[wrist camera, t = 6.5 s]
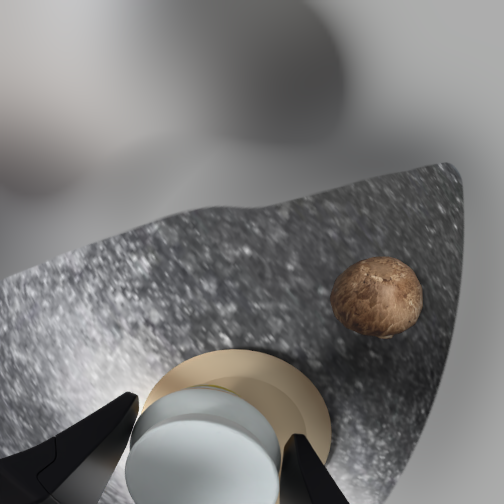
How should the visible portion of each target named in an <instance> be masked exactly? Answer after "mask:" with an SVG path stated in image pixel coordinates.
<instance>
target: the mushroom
mask: <svg viewBox="0 0 504 504" xmlns="http://www.w3.org/2000/svg"><path fill="white" fill-rule="evenodd" d="M330 301H331V305H332V308H333V312H334V315H335V317H336V318H337V319H338V320H339V321H340V322H341V323H342V324H343V325H344V326H345V327H346V328H348V329H350V330H353V331H355V332H358V333H360V334H362V335H368V336H376V337H378V338H382V339H389V338H392V337H393V335H394V334H399V333H402V332H403V331H405V330H407V329H408V328H410V327H411V326H413V325H415V323H416V321H417V319H418V317H419V315H420V313H421V310H422V308H423V296H422V287H421V285H420V282H419V281H418V279H417V277H416V275H415V273H414V271H413V270H412V269H411V268H410V267H408V266H407V265H406V264H404V263H403V262H401V261H400V260H398V259H395V258H391V257H372V258H369V259H365V260H361V261H359V262H357V263H355V264H353V265H352V266H350V267H349V268H347V269H346V270H345V271H344V272H343V273H342V274H341V275H339V276H338V277H337V279H336V280H335V283H334V286H333V289H332V292H331V296H330Z"/></svg>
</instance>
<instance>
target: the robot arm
mask: <svg viewBox="0 0 504 504" xmlns="http://www.w3.org/2000/svg"><path fill="white" fill-rule="evenodd" d="M138 412H139V398H138V396H137V395H136V394H133V393H131V392H125V393H124V394H122V395H121V396H119V397H118V398H116V399H114V400H113V401H111V402H110V403H108V404H107V405H105V406H103V407H102V408H100V409H99V410H97V411H95V412H94V413H92V414H91V415H89V416H87V417H86V418H84V419H82V420H81V421H79V422H77V423H76V424H74V425H72V426H71V427H69V428H67V429H66V430H64V431H62V432H61V433H59V434H57V435H56V436H54V437H52V438H50V439H48V440H47V441H45V442H43V443H41V444H39V445H37V446H35V447H32V448H30V449H27V450H25V451H22V452H19V453H17V454H14V455H11V456H8V457H5V458H2V459H0V504H97V503H98V501H99V499H100V497H101V495H102V493H103V491H104V489H105V487H106V485H107V483H108V481H109V479H110V477H111V475H112V473H113V471H114V470H115V468H116V466H117V464H118V462H119V460H120V458H121V456H122V454H123V452H124V450H125V448H126V446H127V443H128V440H129V437H130V435H131V432H132V429H133V426H134V423H135V421H136V418H137V415H138ZM279 502H280V504H349V502H348V501H347V499H346V498H345V496H344V495H343V493H342V492H341V490H340V489H339V487H338V486H337V484H336V483H335V481H334V480H333V478H332V477H331V475H330V474H329V472H328V471H327V469H326V468H325V466H324V465H323V463H322V461H321V460H320V458H319V457H318V455H317V454H316V452H315V450H314V449H313V447H312V446H311V444H310V442H309V441H308V439H307V438H306V436H305V435H304V434H297V433H294V434H292V435H291V437H290V438H289V440H288V441H287V442H286V444H285V446H284V451H283V459H282V467H281V475H280V485H279Z"/></svg>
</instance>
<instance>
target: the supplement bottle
mask: <svg viewBox="0 0 504 504" xmlns="http://www.w3.org/2000/svg"><path fill="white" fill-rule="evenodd" d="M280 465H281V450H280V445H279V442H278V438H277V436H276V434H275V431H274V430H273V428H272V426H271V425H270V423H269V422H268V421H267V419H266V418H265V417H264V416H263V415H262V414H261V413H260V412H259V411H258V410H257V409H256V408H255V407H254V406H252V405H251V404H250V403H248V402H247V401H245V400H244V399H243V398H241V397H240V396H239V395H238V394H236V393H235V392H233V391H231V390H229V389H227V388H224V387H221V386H217V385H210V384H200V385H194V386H190V387H187V388H184V389H181V390H179V391H175V392H173V393H170V394H168V395H166V396H164V397H162V398H160V399H158V400H157V401H155V402H154V403H152V404H151V405H150V406H149V407H148V408H147V409H146V410H145V411H144V412H143V413H142V414H141V415H140V417H139V418H138V420H137V422H136V424H135V426H134V428H133V431H132V434H131V439H130V453H129V455H128V457H127V461H126V466H125V478H126V484H127V487H128V490H129V493H130V495H131V497H132V499H133V500H134V502H135V503H136V504H275V503H276V501H277V498H278V494H279V476H278V474H279V471H280Z"/></svg>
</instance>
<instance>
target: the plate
mask: <svg viewBox="0 0 504 504" xmlns="http://www.w3.org/2000/svg"><path fill="white" fill-rule="evenodd" d="M200 384H210V385H217V386H221V387H224V388H227V389H229V390H231V391H233V392H235V393H236V394H238V395H239V396H240V397H241V398H243V399H244V400H245V401H247V402H248V403H250V404H251V405H252V406H254V407H255V408H256V409H257V410H258V411H259V412H260V413H261V414H262V415H263V416H264V417H265V418H266V419H267V421H268V422H269V423H270V425H271V426H272V428H273V430H274V431H275V434H276V436H277V438H278V442H279V445H280V450H281V465H280V471H279V474H278V476H279V485H280V475H281V467H282V459H283V451H284V446H285V444H286V442H287V441H288V440H289V438H290V437H291V435H292V434H294V433H297V434H304V435H305V436H306V438H307V439H308V441H309V442H310V444H311V446H312V447H313V449H314V450H315V452H316V454H317V455H318V457H319V458H320V460H321V461H322V463H323V465H325V463H326V460H327V457H328V454H329V451H330V445H331V421H330V417H329V413H328V409H327V407H326V404H325V402H324V400H323V398H322V396H321V395H320V393H319V391H318V390H317V388H316V387H315V386H314V385H313V383H312V382H311V381H310V380H309V379H308V378H307V377H306V376H305V375H304V374H303V373H302V372H300V371H299V370H297V369H296V368H295V367H293V366H292V365H290V364H288V363H287V362H285V361H283V360H281V359H278V358H276V357H274V356H271V355H268V354H264V353H261V352H256V351H250V350H237V349H230V350H218V351H213V352H208V353H205V354H202V355H198V356H195V357H193V358H191V359H189V360H187V361H184V362H183V363H181V364H179V365H178V366H176V367H175V368H173V369H172V370H171V371H169V372H168V373H167V374H166V375H165V376H163V377H162V379H161V380H160V381H159V382H158V383H157V384H156V385H155V387H154V388H153V389H152V391H151V392H150V394H149V396H148V398H147V400H146V402H145V404H144V406H143V410H142V413H143V412H144V411H145V410H146V409H147V408H148V407H149V406H150V405H151V404H152V403H154V402H155V401H157V400H158V399H160V398H162V397H164V396H166V395H168V394H170V393H173V392H175V391H179V390H181V389H184V388H187V387H190V386H194V385H200ZM142 413H141V414H142ZM275 504H280V502H279V494H278V498H277V501H276V503H275Z"/></svg>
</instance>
